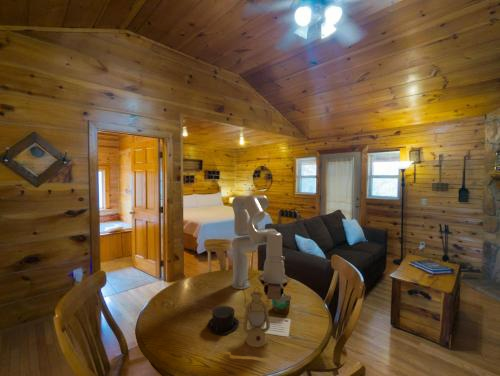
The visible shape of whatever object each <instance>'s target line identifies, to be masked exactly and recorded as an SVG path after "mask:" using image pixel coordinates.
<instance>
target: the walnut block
mask: <svg viewBox="0 0 500 376" xmlns="http://www.w3.org/2000/svg"><path fill="white" fill-rule="evenodd" d="M267 285H268V293H267V299H268V300H272V299H275V300H280V298H281V286H280V284H279V283H274V282H268V284H267Z"/></svg>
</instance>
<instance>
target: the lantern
mask: <svg viewBox="0 0 500 376" xmlns="http://www.w3.org/2000/svg"><path fill="white" fill-rule="evenodd" d="M256 274H257V275H258V276H260V275H261V274H259V273H258V272H257V273H255V274H254V275H253V276H251V277H248V279H247V280H248V281H249V280H250V279H253V278H255V276H256ZM260 277H261V276H260ZM262 279H263V277H262ZM264 279H265V278H264ZM265 280H266V279H265ZM244 282H245V281H244ZM267 285H268V281H267ZM243 286H244V283H243ZM256 288H257V289H259V287H258V286H256V287H255V288H254V289H253V292H251V293H250V297H251V298H252V299H251V302H250V303H248V304H247V305H246V306H245V313H244V316H243V317H244V318H243V325H242V329H243V332H244V333H246V334H247V336H246V339H245V342H246V344H247V345H248V346H250V347H252V348H261V347H263V346H265V345H266V344H267V342H268V339H267V337H266V334H265V332H267V331H268V329H269V328H270V322H269V310H268V307H269V305H270V304H269V303H270V302H269V299H268V298H266V300H267V303H266V302H263V301H262V299H261V298H262V297H263V296H264V295H263V293H262V292H260V291H255V289H256ZM244 290H245V289H242V292H243V294H244V299H245V300H244V303H246V302H247V301H246V300H247V299H246V298H247V297H246V294H245V293H246V292H245V291H244ZM267 292H268V291H267ZM248 321H249V326H250V327H251V328H250V329H248ZM265 322H266V328H264V325H265ZM263 328H264V329H263Z"/></svg>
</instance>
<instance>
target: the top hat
mask: <svg viewBox="0 0 500 376" xmlns="http://www.w3.org/2000/svg"><path fill="white" fill-rule="evenodd" d="M211 313H212V317H211V318H210V319H209V320H208V322H207V327H208V329H209V331H210V332H212V333H213V334H215V335H217V336H225V335H228V334H231V333H232V332H233V331H235V330H236V329H237V328H238V327H239V325H240V323H239V321H240V320H239V319H238V318H236V317H235V308H234V307H232V306H228V305H219V306H216V307H214V308H213V309H212V312H211Z"/></svg>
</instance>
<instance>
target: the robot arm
mask: <svg viewBox="0 0 500 376" xmlns="http://www.w3.org/2000/svg"><path fill="white" fill-rule="evenodd" d="M231 202H232V205H231V206H232V209H233V210H232V211H233V214H234V221H233V222H234V234H235V235H236V236H238V237H236V238H234V239H232V241H231V248H232V265H233V266H232V270H233V273H232V274H233V276H232V277H233V278H232V281H231V282H230V287H232V288H233V289H236V290H245V289H247V288H249V287H250V286H251V282H250V281H249V277H248V275H249V272H248V271H249V269H248V268H249V267H248V266H249V265H248V264H249V263H248V262H249V260H248V256H247V255H246V254H245V253H246V252H255V251H256V250H257V249H258V247H259V246H262V245H266V249H265V251H266V253H265V254H266V256H265V258H266V259H264V265H263V272H261V274H259V275H260V276H261V277H260V276H259V275H258V276H257V279H258V281H259V282H260V284H261V285H262V286H263V293H264V295H265V296H268V294H267V293H268V292H267V291H268V284H267V281H268V282H274V283H279V284H280V286H281V297H282V294H285V293H284V292H285V291H284V288H286V286H288V284H289V283H291V279H290V277H288V275H286V274H285V271H286V270H285V261H284V260H286V256H283V234H282V233H281V232H279V231H277V230H276V229H275V228H263V229H262V228H261V229H259V224H258V223H260V222H262V221H263V220H264V219H265V216H266V212H265V211H264V210H266V209H268V208H269V204H270V203H269V202H270V201H269V198H268V197H267V196H266V195H264V194H259V195H258V194H251V195H243V196H242V195H241V196H235V197H233V199H232V201H231ZM248 217H249V220H248ZM262 277H263V278H262ZM264 278H265V279H266V280H265V279H264ZM247 279H248V280H247ZM244 281H245V282H244ZM243 283H244V286H243Z"/></svg>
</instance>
